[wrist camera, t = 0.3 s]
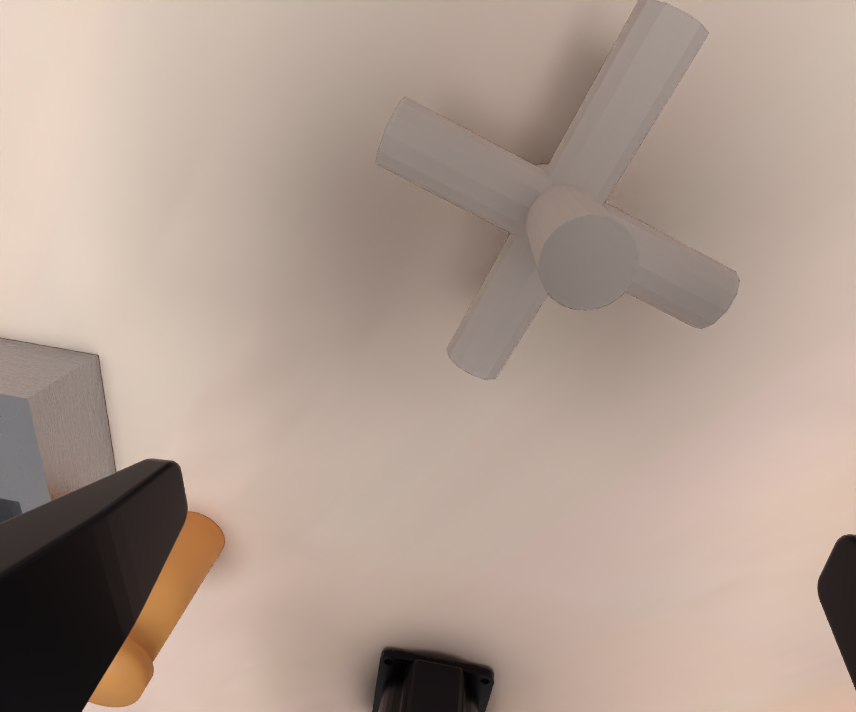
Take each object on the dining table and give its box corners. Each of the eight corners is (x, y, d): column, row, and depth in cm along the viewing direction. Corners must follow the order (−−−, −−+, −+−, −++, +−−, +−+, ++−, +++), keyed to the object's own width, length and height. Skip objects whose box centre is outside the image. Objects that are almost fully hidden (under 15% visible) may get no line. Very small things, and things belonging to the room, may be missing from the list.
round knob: (231, 567, 29) (146, 715, 22) (164, 554, 29) (58, 696, 22) (229, 514, 27) (136, 655, 20) (158, 501, 27) (41, 636, 20)
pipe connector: (586, 361, 21) (654, 544, 12) (363, 251, 20) (261, 361, 11) (756, 118, 17) (1049, 125, 8) (484, -35, 16) (473, -216, 7)
